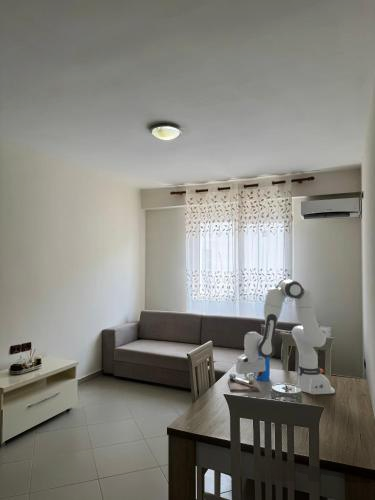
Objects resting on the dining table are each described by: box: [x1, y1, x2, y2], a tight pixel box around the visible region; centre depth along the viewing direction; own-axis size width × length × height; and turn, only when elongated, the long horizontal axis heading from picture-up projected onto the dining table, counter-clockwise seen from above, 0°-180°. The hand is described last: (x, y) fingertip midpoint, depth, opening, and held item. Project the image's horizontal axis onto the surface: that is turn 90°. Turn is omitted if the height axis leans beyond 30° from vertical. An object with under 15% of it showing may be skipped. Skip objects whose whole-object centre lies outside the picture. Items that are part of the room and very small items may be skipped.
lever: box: [229, 373, 254, 385], centre depth 226 cm, size 18×4×7 cm, turn 43°
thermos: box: [253, 352, 271, 382], centre depth 240 cm, size 11×11×25 cm
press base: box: [227, 378, 261, 393], centre depth 224 cm, size 18×19×2 cm
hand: (251, 379), depth 221 cm, fingers open, 5 cm apart
